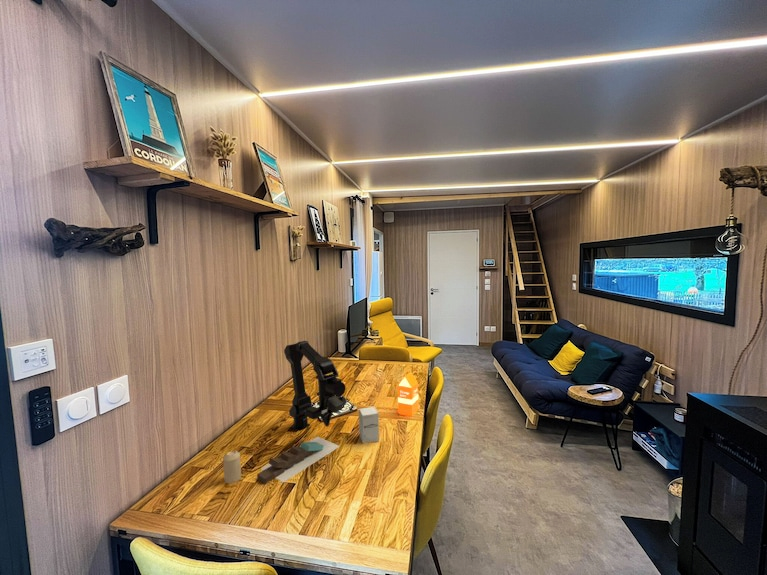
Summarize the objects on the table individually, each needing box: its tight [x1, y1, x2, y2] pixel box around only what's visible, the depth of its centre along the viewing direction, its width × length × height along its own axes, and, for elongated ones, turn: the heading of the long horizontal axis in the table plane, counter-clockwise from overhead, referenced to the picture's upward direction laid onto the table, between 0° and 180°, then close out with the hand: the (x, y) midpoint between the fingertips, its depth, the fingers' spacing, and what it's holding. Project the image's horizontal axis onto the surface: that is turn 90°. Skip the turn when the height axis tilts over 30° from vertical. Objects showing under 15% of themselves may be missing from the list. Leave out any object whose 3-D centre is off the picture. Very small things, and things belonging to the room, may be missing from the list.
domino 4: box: [289, 446, 313, 456], centre depth 128 cm, size 2×5×8 cm
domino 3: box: [279, 451, 305, 462], centre depth 125 cm, size 2×5×8 cm
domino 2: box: [256, 466, 285, 485], centre depth 117 cm, size 2×5×8 cm
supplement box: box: [358, 406, 380, 444], centre depth 141 cm, size 7×7×13 cm
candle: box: [222, 449, 242, 485], centre depth 116 cm, size 6×6×10 cm
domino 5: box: [299, 441, 324, 451], centre depth 132 cm, size 2×5×8 cm
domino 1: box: [268, 457, 294, 468], centre depth 121 cm, size 2×5×8 cm
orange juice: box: [397, 371, 420, 417], centre depth 166 cm, size 8×9×20 cm
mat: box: [260, 436, 341, 483], centre depth 128 cm, size 14×28×1 cm, turn 143°
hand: (327, 426), depth 138 cm, fingers closed
